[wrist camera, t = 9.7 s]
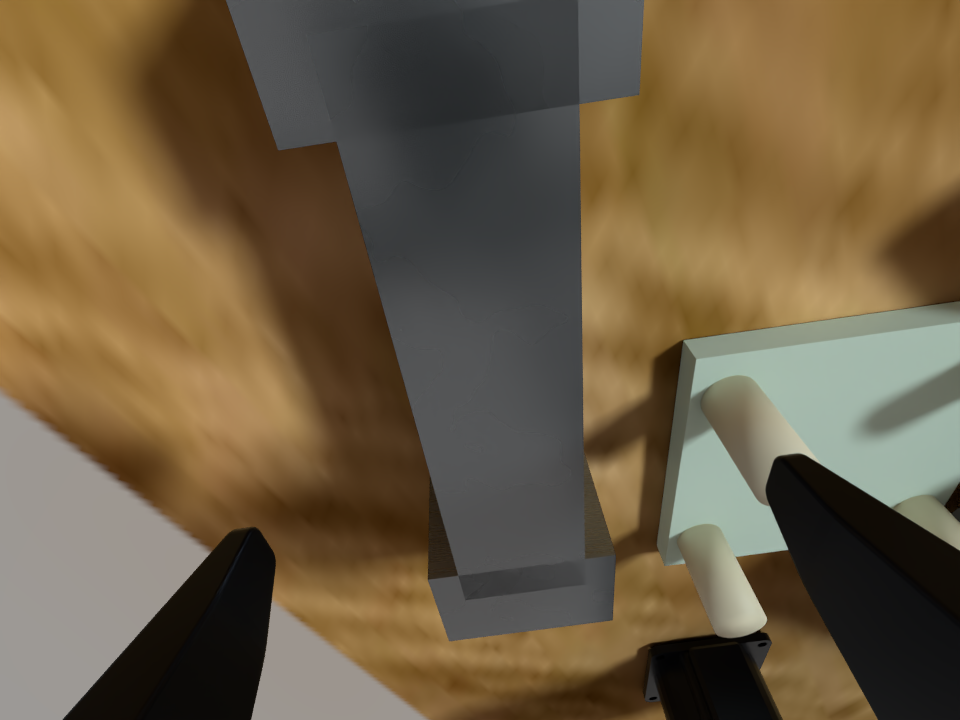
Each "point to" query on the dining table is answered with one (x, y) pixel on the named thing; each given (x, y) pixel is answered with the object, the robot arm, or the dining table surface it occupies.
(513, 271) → the grey bone-shaped bar
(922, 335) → the rack
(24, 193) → the dining table surface
